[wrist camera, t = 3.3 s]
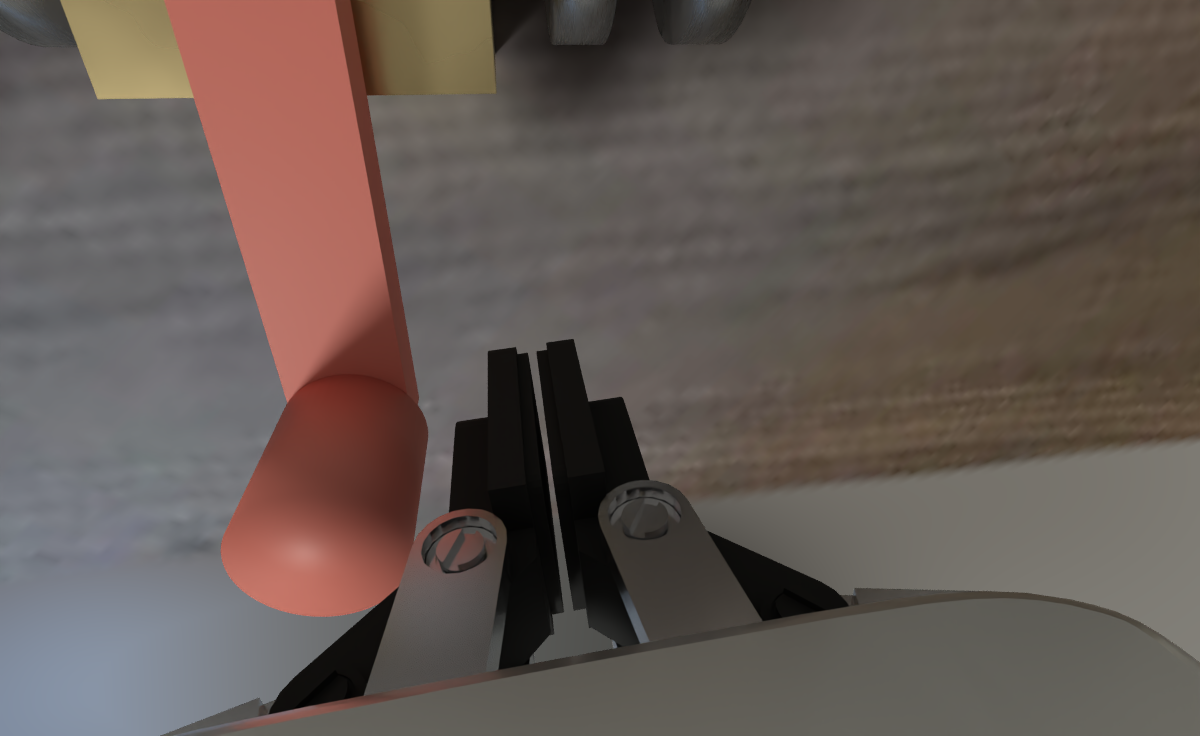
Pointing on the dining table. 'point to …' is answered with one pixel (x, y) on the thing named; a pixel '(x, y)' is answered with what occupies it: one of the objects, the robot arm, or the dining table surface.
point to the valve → (383, 28)
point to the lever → (312, 302)
